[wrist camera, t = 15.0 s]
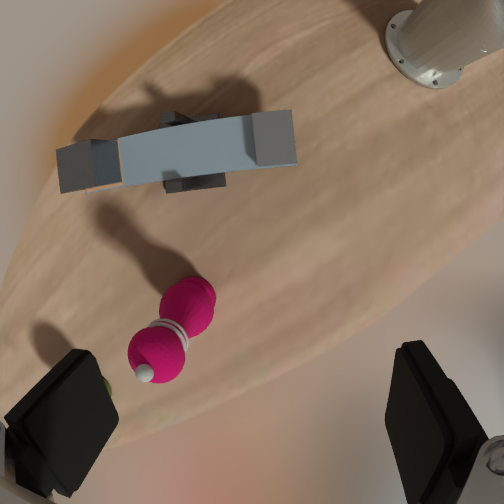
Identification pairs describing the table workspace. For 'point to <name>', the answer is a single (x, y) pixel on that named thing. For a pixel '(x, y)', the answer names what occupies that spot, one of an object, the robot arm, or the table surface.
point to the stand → (192, 181)
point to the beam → (206, 148)
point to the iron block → (88, 165)
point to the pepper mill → (172, 330)
